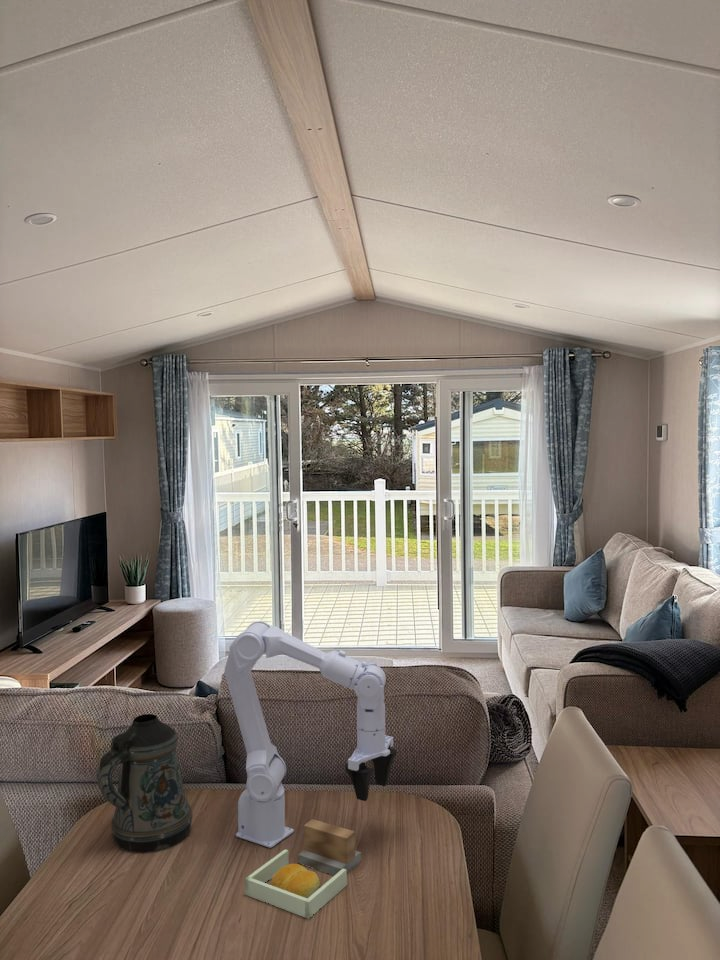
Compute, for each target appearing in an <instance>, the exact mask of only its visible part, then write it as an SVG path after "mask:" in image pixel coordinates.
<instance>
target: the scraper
mask: <svg viewBox="0 0 720 960" xmlns="http://www.w3.org/2000/svg"><path fill="white" fill-rule="evenodd" d="M297 857H298V858H297V863H298V862H299V863H301V864H304V865H307V866H310V867H313V868H315V869H318V870H321V871H323V872H322V873H324V872H326V873H325V874H327V873H329V874H328V875H330V874H331V875H330V876H333V875H334V876H335V875H336V874H337V873H338V872H339V871H340V870H342V869H346V870H347V874H348V873H349V872H351V870H352V868H353V869H355V867H356V866H357V865H358V864H359V862H360V861H361V862H362V852H361V851H358V850H356V831H354V830H352V829H347V828H344V827H340V826H337V825H334V824H332V823H327V822H323V821H321V820H317V819H314V818H312V819H311V820H309V821H308V822H306V823H305V824H304V825H303V850H302V851H301V852H299V853H298V854H297ZM361 862H360V863H361ZM315 869H314V870H315ZM318 870H317V871H318ZM321 871H320V872H321Z"/></svg>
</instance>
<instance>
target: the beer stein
mask: <svg viewBox="0 0 720 960" xmlns="http://www.w3.org/2000/svg"><path fill="white" fill-rule="evenodd" d="M178 741H179V734H178V733H177V731H176V730H175V729H174V728H173V727H172V726H170V725H167V724H166V723H164V722H163V721H161V720H159V718H158V716H157V715H156V714H151V713H146V714H141V715H137V716H136V717H135V718H134V719H133V721H132V723H131V725H130V726H129V727H128V728H127V729H126V730H125V732H121V733H120V734H118V735H116V736H114V737H113V738H112V739H111V742H110V750H109V751H107V752H105V754H104V755H103V756H102V757H101V759H100V761H99V765H98V767H97V768H98V769H97V771H96V782H97V786H98V789H99V791H100V792H101V795H102V796H103V798H105V799H106V800H107V801H108V802H109V804H110V805H112V806H114V807H115V810H114V815H113V817H112V820H111V822H110V823H111V824H110V827H111V828H110V829H111V832H112V836H113V842H114V843H115V844H116V845H117V846H118V847H119V848H120V849H122V850H125V851H127V852H133V853H142V854H143V853H152V852H159V851H160V852H161V851H163V850H166V849H170V848H172V847H174V846H176V845H178V844H180V843H181V842H182V841H184V840H186V838H187V837H188V836H189V834H190V833H191V825H192V820H193V810H192V807H191V805H190V803H189V800H188V797H187V794H186V791H185V788H184V784H183V780H182V775H181V774H182V773H181V770H180V765H179V760H178V755H177V750H176V748H177V746H178V743H179V742H178ZM118 765H120V767H119V775H118V783H117V784H118V785H117V789H116V788H115V786H114V784H113V773H114V771H115V768H116V767H117V766H118Z"/></svg>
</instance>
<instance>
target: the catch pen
mask: <svg viewBox="0 0 720 960" xmlns="http://www.w3.org/2000/svg"><path fill="white" fill-rule="evenodd" d="M289 859H290V858H289V850H288V849H284V850H282V851H281V852H279V853H278V854H277V855H275V856H274V857H272V858H271V859H270V860H268V861H267V862H265V863H264V864H263V865H262V866H259V867H258V869H256V870H255V871H253V872H252V873H251V874H249V875H248V876H246V878H245V877H244V895H245V896H247V897H250V898H252V899H255V900H258V901H261V902H263V903H265V902H266V903H265V904H268V903H269V904H268V905H271V906H273V905H274V906H273V907H276V908H279V909H282V910H284V911H287V912H289V913H292V914H294V915H298V916H300V917H303V918H306V919H308V920H310V919H311V918H312V917H313V916H314V915H315V914H317V912H319V909H320V908H321V909H322V908H323V907H325V905H326V904H327V903H329V902H330V901H331V900H332V899H333V898H334V897H335V896H337V894H339V893H340V892H341V891H342V890H344V889H345V888H346V887H347V886H348V884H347V883H348V882H347V875H348V873H347V870H346V869H342V870H340V871H339V872H338V873H337V874H336V875H335V876H333V875H332V877H331V878H330V879H329V880H327V881H326V882H325V883H324V884H323V885H321V887H320V888H319V889H318V890H317V891H316V892H315V893H313V894H312V895H311V896H310V897H309V898H308V899H307V898H305V897H302V896H299V895H296V894H294V893H291V892H288V891H286V890H283V889H280V888H277V887H275V886H272V885H271V884H268V882H269V881H270V880H272V877H273V876H274V874H275V873H276V872H277V871H278V870H279V869H281V868H282V867H283V866H285V865H288V864H290V863H289ZM269 879H270V880H269ZM268 880H269V881H268ZM267 881H268V882H267ZM265 882H266V883H265ZM321 909H320V910H321ZM313 914H314V915H313ZM310 917H311V918H310Z"/></svg>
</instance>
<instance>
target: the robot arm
mask: <svg viewBox="0 0 720 960" xmlns="http://www.w3.org/2000/svg"><path fill="white" fill-rule="evenodd" d="M265 653H266V655H265V658H266V659H269V658H274V657H277V656H281V655H283V656H287V657H288V658H290V659H291V658H292V659H294V660H297V661H300V662H302V663H305V664H307V665H310V666H312V667H315V668H317V669H319V671H320V674H321V675H322V677H323V678H325V679H328V680H329V681H332V682H334V683H336V684H338V685H340V686H343V687H344V688H347V689H349V690H353V691H354V692H355V695H356V696H357V703H356V736H357V737H356V742H357V743H356V745H357V746H356V747H355V750H353V753H352V755H351V756H350V757H348V759H347V763H345V767H344V769H345V771H346V773H347V775H348V776H349V778H350V780H351V783H352V785H353V789H354V792H355V796H356V799H357V800H360V801H362V802H366V801H367V800H368V798H369V790H370V781H371V777H372V775H373V773H374V779H375V784H376V785H379V786H382V787H386V786H387V784H388V781H389V780H388V779H389V775H390V771H391V768H392V765H393V764H394V763H393V762H394V760H395V758H396V757H397V749H394V748H392V747H394V736H392V735H391V736H390V735H386V704H385V685H386V683H387V682H386V680H387V677H386V673H385V671H384V670H383V668H382V667H381V666H379V665H378V664H376V663H372V662H371V663H368V662H366V661H364V660H363V661H362V662H361V661H360V660H357V659H355V658H352V657H350V656H348V655H346V653H347V652H346V651H344V650H342V649H340V650H339V651H337V650H335V649H334V650H332V651H329V652H324V651H323V650H321V649H319V648H317V647H314V645H311V644H309V643H307V642H305V641H303V640H301V639H299V638H297V637H296V636H294V635H291V634H289V633H288V632H286V631H284V630H282V629H281V628H280V627H278V626H275V625H270V624H269V623H267V622H264V621H255V622H252V623H250V624H249V625H248V627H246V629H244V630H243V632H241V633H239V634H238V635H237V636H236V637H235V639H234V640H233V641H232V642H231V644H230V645H229V652H228V656H227V659H226V663H225V667H224V670H223V671H224V677H225V679H226V683H227V686H228V690H229V694H230V697H231V701H232V704H233V709H234V712H235V715H236V719H237V723H238V727H239V730H240V734H241V737H242V740H243V744H244V748H245V751H246V762H245V770H246V774H247V778H246V779H247V780H246V784H245V786H246V789H244V790H243V792H242V793H241V794H240V796H239V798H238V802H237V828H238V829H237V832H236V833H235V836H236V838H239V839H243V840H245V841H249V842H252V843H254V844H257V845H260V846H263V847H267V848H269V849H271V848H273V847H275V846H276V845H277V844H278V843H280V842H282V841H283V840H284V839H286V838H287V837H289V836H290V835H292V834H293V833H294V832H295V830H294V828H290V827H288V826H286V811H285V809H286V808H285V807H286V806H285V803H286V802H285V788H284V786H283V783H282V780H283V779H284V778H285V776H286V774H287V765H286V763H285V761H284V759H283V758H282V757H281V756H280V755H279V752H278V750H277V749H278V748H277V747H276V746H275V745H274V744H273V743H272V741H271V739H270V735H269V731H268V729H267V724H266V721H265V718H264V714H263V709H262V706H261V703H260V700H259V695H258V693H257V692H258V691H257V688H256V686H255V682H254V681H255V680H254V678H253V674H252V670H253V668H254V667H255V666H256V664H257V662H258V660H260V659H261V658H262V656H263V655H264V654H265ZM370 760H372V764H373V768H370V767H367V765H366V763H367V762H368V761H370Z"/></svg>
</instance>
